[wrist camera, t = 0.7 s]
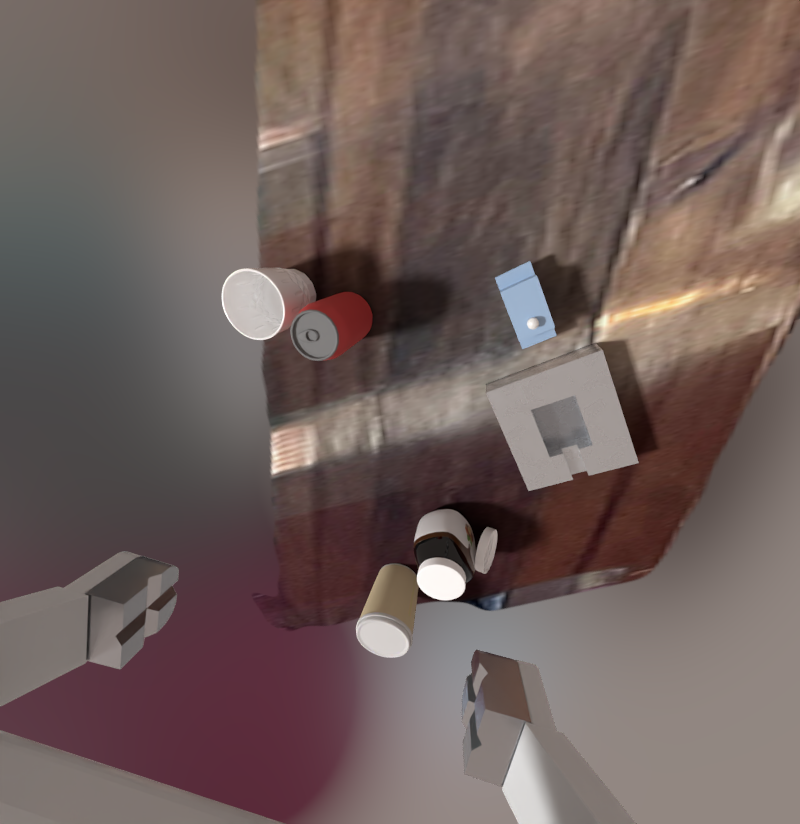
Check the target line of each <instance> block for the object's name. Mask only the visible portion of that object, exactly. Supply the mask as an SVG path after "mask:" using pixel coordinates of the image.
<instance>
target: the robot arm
mask: <svg viewBox="0 0 800 824" xmlns="http://www.w3.org/2000/svg"><path fill="white" fill-rule="evenodd" d="M178 570H179V569H178V568H177V567H176V566H173V565H170V564H167V563H164V562H160V561H157V560H154V559H150V558H147V557H144V556H139V555H136V554H133V553H130V552H120V553H118V554H116V555H115V556H113V557H111V558H110V559H108V560H107V561H105V562H104V563H102V564H100V565H99V566H97V567H96V568H94V569H93V570H91V571H90V572H88V573H86V574H85V575H83V576H82V577H80V578H79V579H77V580H76V581H74V582H72V583H71V584H69V585H68V586H66V587H65V588H61V587H55V588H51V589H48V590H44V591H40V592H36V593H33V594H29V595H26V596H22V597H18V598H15V599H11V600H7V601H4V602H0V706H2V705H4V704H6V703H8V702H10V701H12V700H14V699H16V698H18V697H20V696H22V695H24V694H26V693H28V692H30V691H32V690H34V689H36V688H38V687H39V686H41V685H44V684H45V683H47V682H49V681H51V680H53V679H55V678H57V677H59V676H61V675H63V674H65V673H67V672H69V671H71V670H73V669H75V668H77V667H79V666H81V665H83V664H85V663H86V661H90V662H94V663H98V664H102V665H106V666H109V667H113V668H117V669H121V668H122V667H123V666H124V665H125V664H126V663H127V662H128V661H129V660H130V659H131V658H132V657H133V656H134V655H135V654H136V653H137V652H138V651H139V650H140V649H141V648H142V647H143V643H144V638H145V637H148V636H150V635H152V634H155V633H157V632H158V631H159V630H160V629H161V628H162V627H163V626H164V625H165V624H166V622H167V620H168V619H169V617H170V615H171V614H172V612H173V610H174V607H175V604H176V597H177V594H176V592H175V590H174V588H173V586H172V585H173V584H174V583H175V582H176V581H177V580H178ZM471 667H472V673H471V674H470V675H469V676H467V678H466V681H465V685H464V690H463V696H462V723H463V725H464V726H465V728H466V733H465V736H464V739H463V757H464V774H465V775H468V776H471V777H474V778H477V779H480V780H483V781H486V782H489V783H492V784H494V785H497V786H501V787H503V788H502V790H503V793H504V795H505V797H506V798H507V801H508V803H509V805H510V807H511V809H512V811H513V813H514V815H515V817H516V819H517V821H518V823H519V824H636V822H635V821H634V820H633V819H632V817H631V816H630V815H629V814H628V813H627V811H626V810H625V809H624V808H623V806H622V805H621V804H620V803H619V801H618V800H617V799H616V798H615V796H614V795H613V794H612V793H611V791H610V790H609V789H608V788H607V787H606V785H605V784H604V783H603V782H602V780H601V779H600V778H599V777H598V775H597V774H596V773H595V772H594V770H593V769H592V768H591V767H590V765H589V764H588V763H587V762H586V761H585V759H584V758H583V757H582V756H581V754H580V753H579V752H578V751H577V749H576V748H575V747H574V746H573V744H572V743H571V742H570V741H569V740H568V738H567V737H566V736H565V735H564V734H563V733H561V732H558V731H557V730H556V726H555V723H554V720H553V716H552V713H551V709H550V706H549V703H548V699H547V696H546V692H545V689H544V686H543V682H542V679H541V675H540V672H539V669H538V667H537V666H536V665H534V664H530V663H526V662H523V661H519V660H513V659H510V658H506V657H502V656H498V655H494V654H491V653H487V652H483V651H480V650H476V651H475V652H474V655H473V658H472V661H471ZM0 824H284V823H281V822H278V821H275V820H272V819H269V818H266V817H263V816H260V815H256V814H254V813H251V812H247V811H245V810H241V809H239V808H236V807H232V806H229V805H226V804H223V803H220V802H217V801H214V800H211V799H208V798H205V797H202V796H199V795H196V794H193V793H190V792H187V791H184V790H181V789H178V788H175V787H172V786H169V785H166V784H163V783H159V782H156V781H153V780H150V779H147V778H144V777H141V776H138V775H135V774H132V773H129V772H126V771H123V770H120V769H117V768H114V767H111V766H108V765H104V764H102V763H99V762H95V761H92V760H89V759H86V758H83V757H80V756H77V755H74V754H71V753H68V752H65V751H62V750H58V749H56V748H53V747H50V746H46V745H44V744H40V743H37V742H34V741H31V740H28V739H25V738H22V737H19V736H16V735H13V734H10V733H7V732H4V731H1V730H0Z"/></svg>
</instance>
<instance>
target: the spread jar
mask: <svg viewBox="0 0 800 824" xmlns="http://www.w3.org/2000/svg"><path fill="white" fill-rule="evenodd" d="M496 545H497V530H496V529H493V528H490V527H486V528H485V529H484V531H483V533H482V535H481V537H480V540H479V543H478V547H477V551H476V546H475V539H474V535H473V531H472V528H471V525H470V523H469V521H468V520H467V518H466V517H465V516H464V515H463V514H462V513H461V512H459V511H457V510H455V509H450V508H443V509H438V510H434V511H432V512H429V513H428V514H426V515H425V516H423V517H422V518H421V520H420V521H419V524H418V527H417V531H416V535H415V540H414V554H415V559H416V563H417V566H418V569H419V570H418V574H417V583H418V585H419V587H420V589H421V590H422V591H423V592H424V593H425V594H427V595H428V596H430V597H432V598H435V599H439V600H453V599H456V598H458V597H460V596H461V595H462V594H463V592H464V591H465V585H466V583H468V582H469V581H470V580H471V579H472V578H473V576H474V573H475V569H476V570H477V571H479V572H482V573H485V574H486V573H487V572H488V570H489V568H490V566H491V564H492V561H493V558H494V554H495V550H496Z"/></svg>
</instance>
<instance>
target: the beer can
mask: <svg viewBox="0 0 800 824" xmlns="http://www.w3.org/2000/svg"><path fill="white" fill-rule="evenodd" d="M372 317H373V315H372V312H371V308H370V306H369V305H368V303H367V302H366V300H365V299H363V298H362V297H361V296H360V295H358V294H356V293H353V292H342V293H338V294H335V295H332V296H330V297H327V298H324V299H321V300H318V301H315V302H312V303H310V304H308V305H306V306H305V307H304V308H302V309H301V310H300V312H299V313H298V315H297V316H296V317H295V318H294V320H293V321H292V325H291V329H290V331H291V339H292V342H293V344H294V346H295V347H296V349H297V350H298V352H299V353H301V354H302V355H303V356H304V357H306V358H308V359H310V360H315V361H322V360H329V359H334V358H337V357H338V356H340V355H341V354H343V353H344V352H345V351H347V350H348V349H349V348H351V347H352V346H353V345H354V344H356V343H357V342H358V341H360V340H361V339H362V338H364V337H365V336H366V335H367V333H368V332H369V331H370V329H371V326H372Z"/></svg>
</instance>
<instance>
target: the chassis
mask: <svg viewBox="0 0 800 824" xmlns="http://www.w3.org/2000/svg"><path fill="white" fill-rule="evenodd" d="M486 394H487V396H488V399H489V401H490V403H491V406H492V408H493V410H494V412H495V415H496V417H497V419H498V422H499V424H500V426H501V429H502V431H503V433H504V435H505V438H506V440H507V442H508V445H509V447H510V449H511V451H512V454H513V456H514V458H515V461H516V463H517V465H518V468H519V470H520V472H521V474H522V477H523V479H524V481H525V484H526V486H527V488H528V490H529V491H530V490H534V489H538V488H542V487H546V486H550V485H554V484H558V483H562V482H566V481H570V480H573V478H572V474H576V473H579V472H583V471H587V473H588V475H593V474H597V473H601V472H605V471H609V470H613V469H617V468H621V467H624V466H628V465H632V464H636V463H639V462H638V459H637V456H636V453H635V450H634V447H633V444H632V440H631V437H630V434H629V431H628V428H627V425H626V422H625V418H624V415H623V412H622V409H621V406H620V403H619V400H618V396H617V393H616V390H615V387H614V384H613V381H612V378H611V374H610V371H609V368H608V365H607V362H606V359H605V356H604V352H603V350H602V349H601V348H600V347H599V346H598V345H597V344H596V343H594V344H591V345H589V346H586V347H583V348H581V349H578V350H575V351H573V352H570V353H567V354H565V355H562V356H559V357H557V358H554V359H552V360H549V361H546V362H544V363H541V364H538V365H536V366H533V367H530V368H528V369H525V370H522V371H520V372H517V373H514V374H512V375H509V376H506V377H504V378H501V379H498V380H496V381H493V382H490V383H488V384H486Z"/></svg>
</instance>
